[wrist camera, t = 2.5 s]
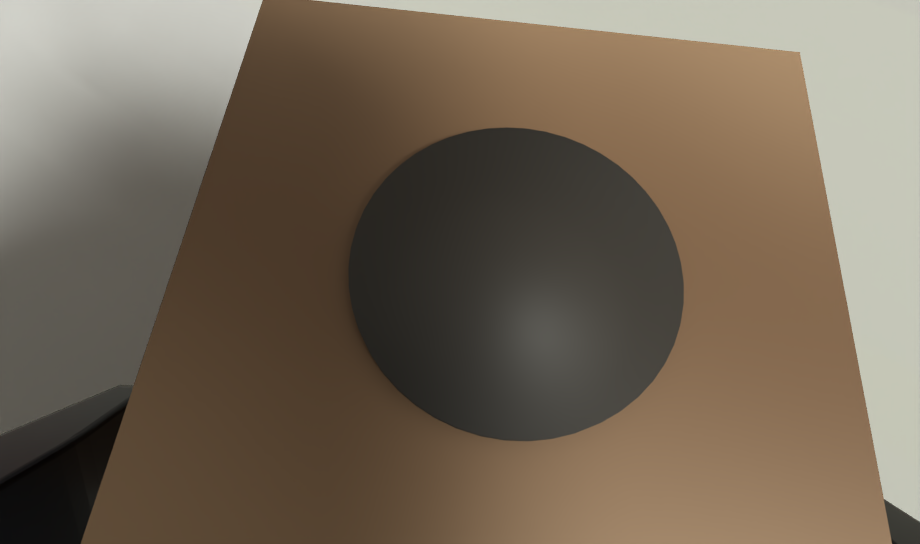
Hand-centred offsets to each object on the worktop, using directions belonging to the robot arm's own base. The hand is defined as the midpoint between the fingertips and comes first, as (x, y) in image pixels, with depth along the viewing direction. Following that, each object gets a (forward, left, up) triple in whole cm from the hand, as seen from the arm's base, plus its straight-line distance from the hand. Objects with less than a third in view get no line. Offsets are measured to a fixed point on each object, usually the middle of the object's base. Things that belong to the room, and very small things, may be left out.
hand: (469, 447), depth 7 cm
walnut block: (+1, 0, -8) cm, 8 cm away
